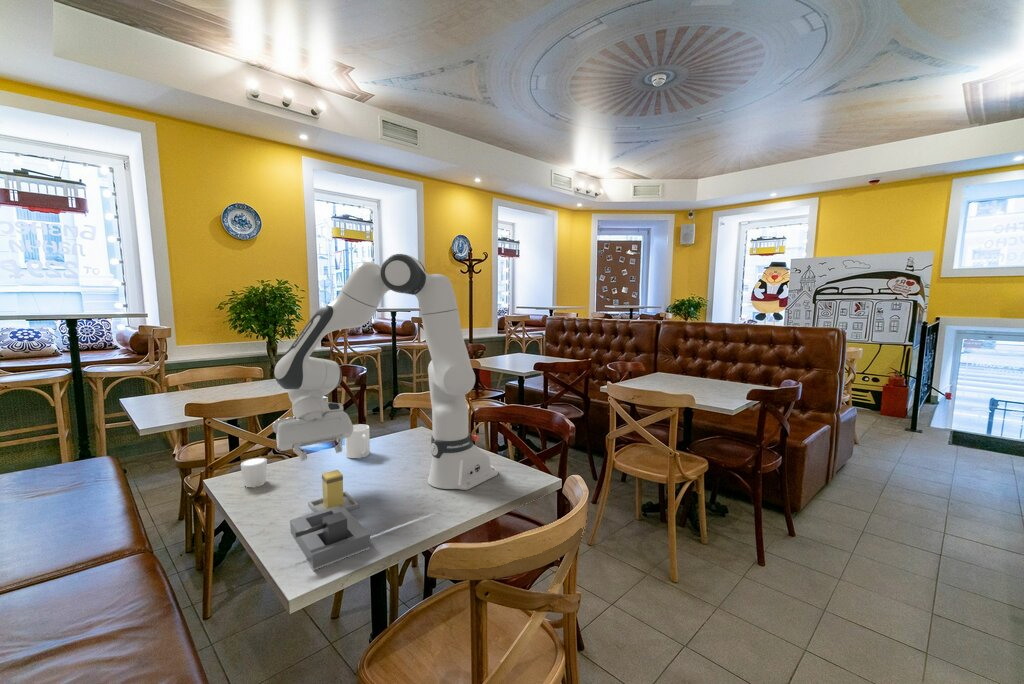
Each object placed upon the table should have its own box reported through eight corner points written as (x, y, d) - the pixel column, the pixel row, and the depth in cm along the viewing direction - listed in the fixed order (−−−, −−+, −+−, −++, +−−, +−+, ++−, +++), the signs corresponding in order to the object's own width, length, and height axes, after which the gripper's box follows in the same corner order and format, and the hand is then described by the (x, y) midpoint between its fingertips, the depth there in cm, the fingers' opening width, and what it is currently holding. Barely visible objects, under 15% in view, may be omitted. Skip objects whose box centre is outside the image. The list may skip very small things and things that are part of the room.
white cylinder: (255, 489, 123) (254, 466, 122) (236, 487, 124) (234, 464, 124) (273, 480, 130) (272, 458, 129) (254, 478, 131) (253, 456, 130)
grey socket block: (341, 517, 107) (341, 489, 107) (370, 548, 94) (369, 516, 93) (281, 537, 98) (279, 506, 98) (302, 575, 85) (301, 539, 84)
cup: (363, 449, 157) (363, 422, 156) (378, 457, 149) (378, 430, 148) (341, 454, 152) (340, 427, 151) (356, 464, 143) (355, 435, 142)
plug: (338, 501, 115) (337, 469, 114) (343, 506, 112) (342, 474, 111) (323, 505, 112) (321, 473, 112) (327, 511, 109) (326, 478, 109)
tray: (345, 496, 119) (345, 491, 119) (359, 509, 112) (358, 504, 112) (308, 507, 113) (307, 502, 113) (319, 521, 105) (319, 516, 105)
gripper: (272, 414, 115) (282, 458, 109) (347, 403, 129) (360, 442, 122) (269, 426, 119) (279, 470, 112) (342, 414, 132) (355, 452, 126)
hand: (322, 455), depth 117 cm, fingers open, 8 cm apart
